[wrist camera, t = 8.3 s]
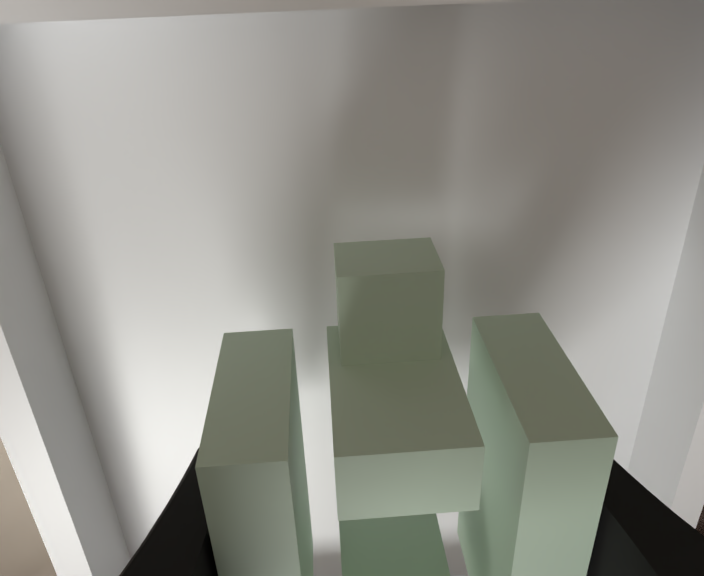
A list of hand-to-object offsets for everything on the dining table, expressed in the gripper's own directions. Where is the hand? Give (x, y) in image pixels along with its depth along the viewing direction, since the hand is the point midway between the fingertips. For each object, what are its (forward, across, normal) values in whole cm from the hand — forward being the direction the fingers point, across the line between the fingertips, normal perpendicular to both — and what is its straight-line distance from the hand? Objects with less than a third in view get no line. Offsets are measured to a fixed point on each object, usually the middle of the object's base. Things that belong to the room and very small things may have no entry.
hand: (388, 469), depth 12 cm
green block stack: (+1, 0, 0) cm, 1 cm away
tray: (+4, 0, 0) cm, 4 cm away
